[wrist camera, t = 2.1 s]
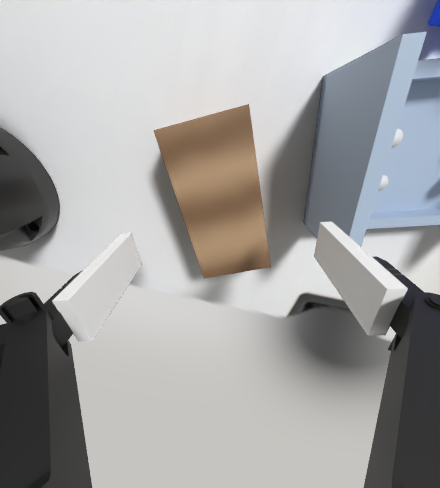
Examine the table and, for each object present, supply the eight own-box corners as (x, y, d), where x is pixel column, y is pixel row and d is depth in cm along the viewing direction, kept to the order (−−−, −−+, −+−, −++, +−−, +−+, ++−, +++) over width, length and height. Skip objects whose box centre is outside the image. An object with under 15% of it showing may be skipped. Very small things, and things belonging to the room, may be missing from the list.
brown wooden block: (262, 241, 29) (270, 267, 24) (207, 252, 30) (204, 278, 25) (242, 110, 21) (248, 104, 16) (170, 129, 22) (153, 130, 17)
